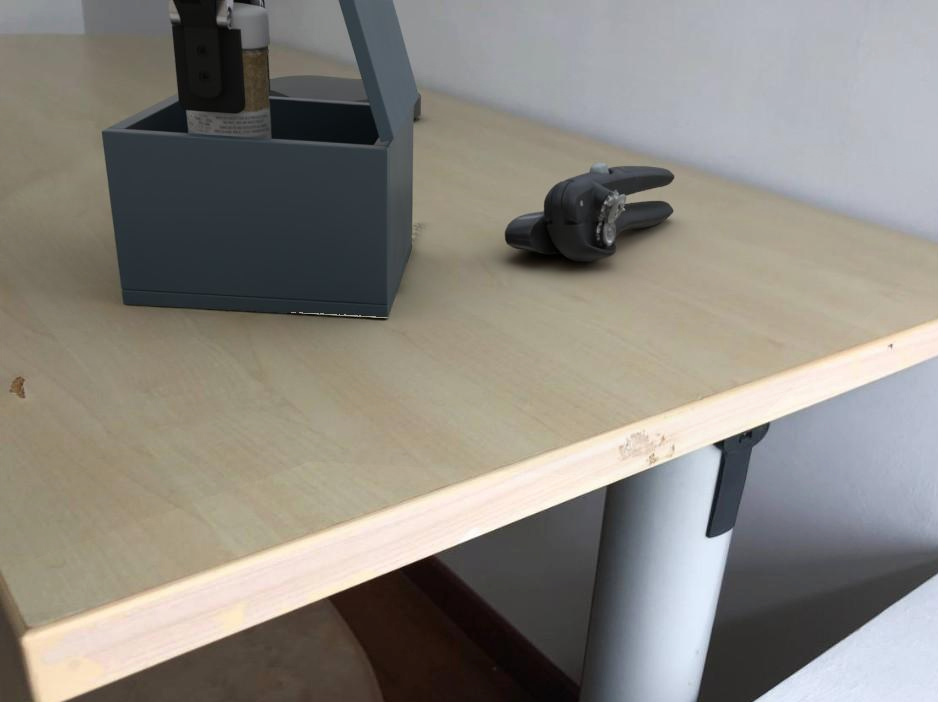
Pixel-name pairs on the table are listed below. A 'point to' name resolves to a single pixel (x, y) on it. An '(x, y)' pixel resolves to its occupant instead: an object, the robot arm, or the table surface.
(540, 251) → the can opener
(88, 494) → the table surface
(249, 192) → the bin
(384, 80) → the bin lid
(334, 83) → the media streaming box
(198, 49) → the robot arm
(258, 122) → the sprinkles bottle
